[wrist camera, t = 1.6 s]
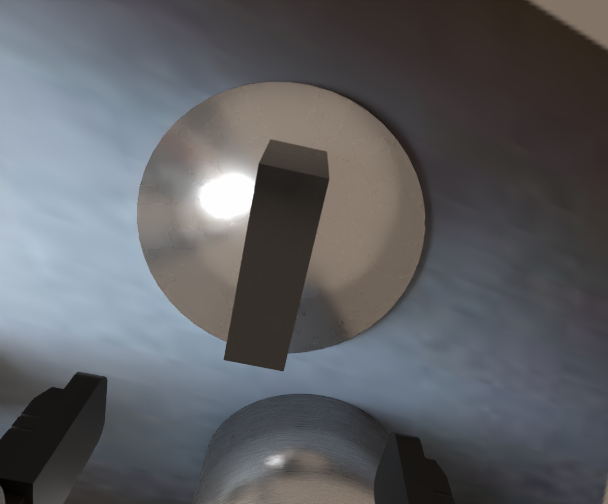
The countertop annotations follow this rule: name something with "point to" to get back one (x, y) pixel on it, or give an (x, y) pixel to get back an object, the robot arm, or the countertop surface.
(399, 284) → the cooker lid
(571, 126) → the countertop surface
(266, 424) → the cooker pot
